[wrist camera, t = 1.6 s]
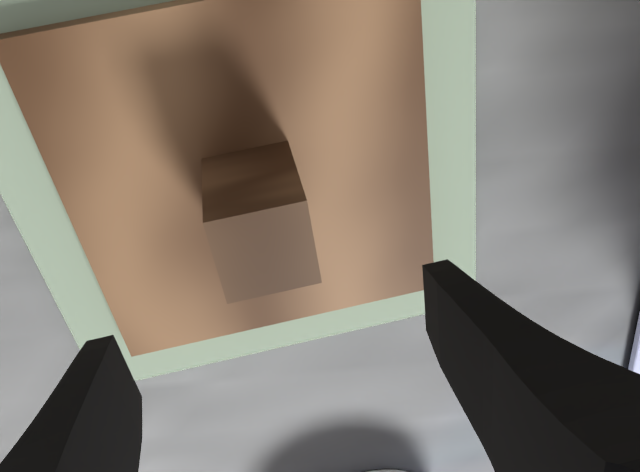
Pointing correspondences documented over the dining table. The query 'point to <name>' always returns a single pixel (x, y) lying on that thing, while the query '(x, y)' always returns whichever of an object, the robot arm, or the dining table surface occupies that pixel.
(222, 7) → the lid
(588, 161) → the dining table surface
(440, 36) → the mat
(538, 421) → the robot arm
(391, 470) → the ramekin
